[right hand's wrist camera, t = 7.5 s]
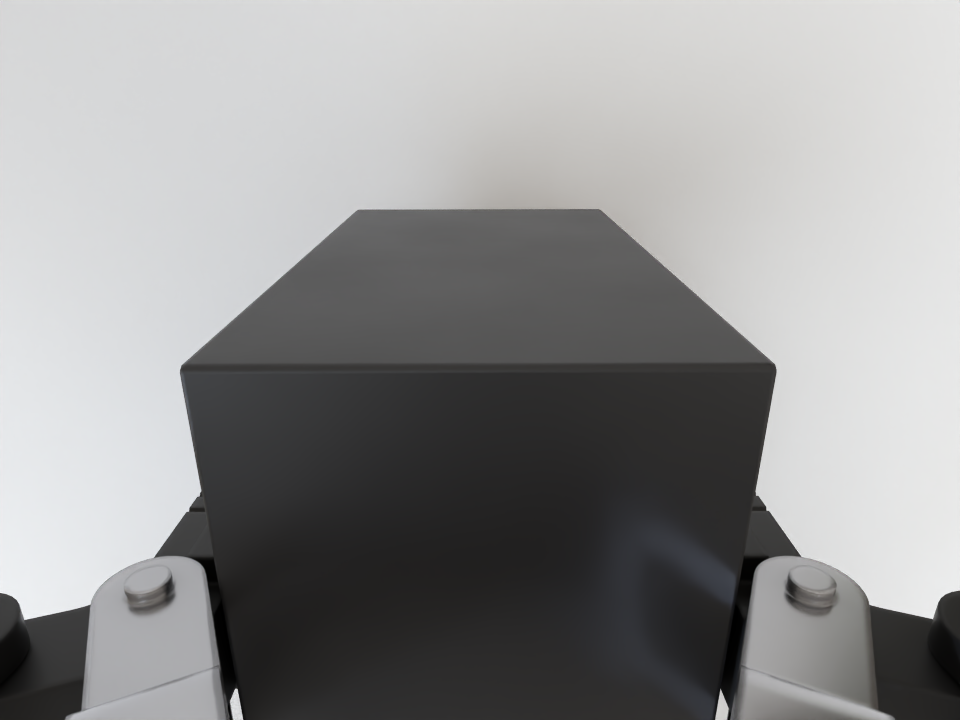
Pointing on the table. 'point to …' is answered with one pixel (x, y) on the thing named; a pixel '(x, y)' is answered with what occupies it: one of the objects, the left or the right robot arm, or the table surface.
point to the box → (478, 475)
